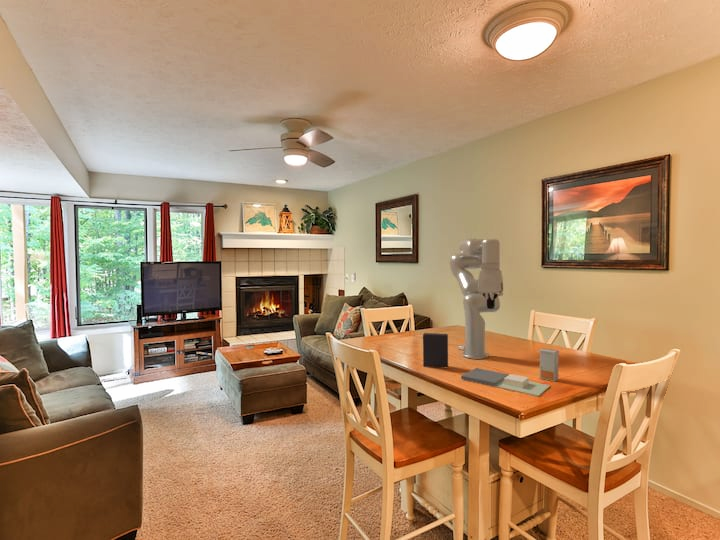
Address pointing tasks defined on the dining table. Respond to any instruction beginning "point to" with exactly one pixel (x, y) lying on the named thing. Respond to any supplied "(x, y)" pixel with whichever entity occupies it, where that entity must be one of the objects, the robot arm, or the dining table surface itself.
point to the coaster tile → (516, 381)
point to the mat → (527, 388)
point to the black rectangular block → (435, 350)
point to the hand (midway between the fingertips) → (490, 308)
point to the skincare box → (549, 364)
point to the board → (484, 376)
